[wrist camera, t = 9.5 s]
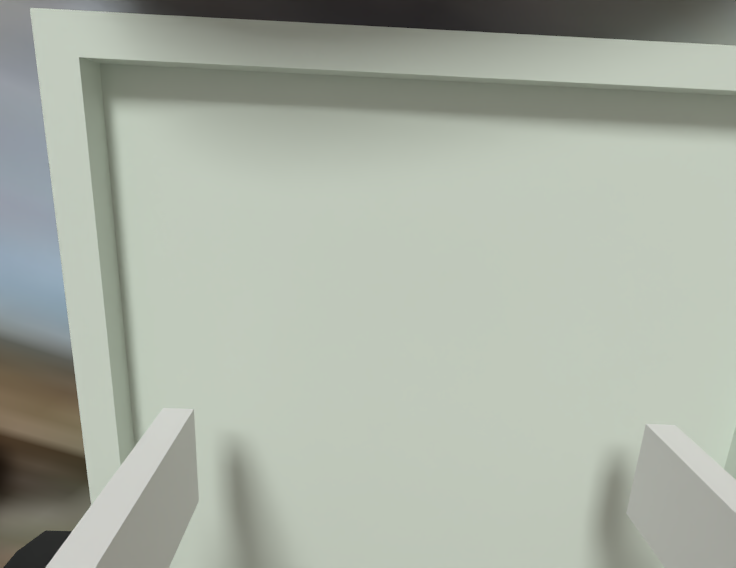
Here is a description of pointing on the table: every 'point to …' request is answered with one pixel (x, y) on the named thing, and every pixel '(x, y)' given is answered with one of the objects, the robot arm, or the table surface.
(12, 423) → the table surface
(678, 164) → the tray
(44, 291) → the table surface
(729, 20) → the table surface
